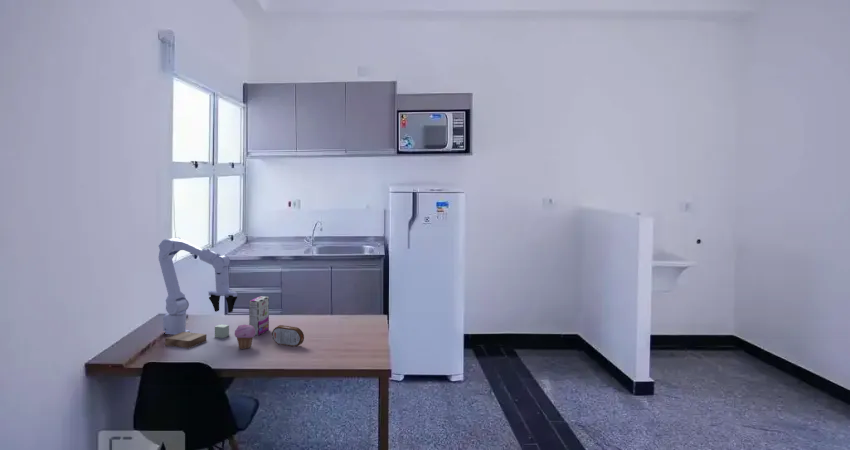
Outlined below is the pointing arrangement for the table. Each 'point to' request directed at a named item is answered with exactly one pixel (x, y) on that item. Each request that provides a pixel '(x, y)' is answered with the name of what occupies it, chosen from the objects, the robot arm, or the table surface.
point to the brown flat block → (185, 339)
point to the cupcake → (245, 335)
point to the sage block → (221, 331)
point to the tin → (288, 335)
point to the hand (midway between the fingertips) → (223, 311)
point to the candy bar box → (259, 314)
